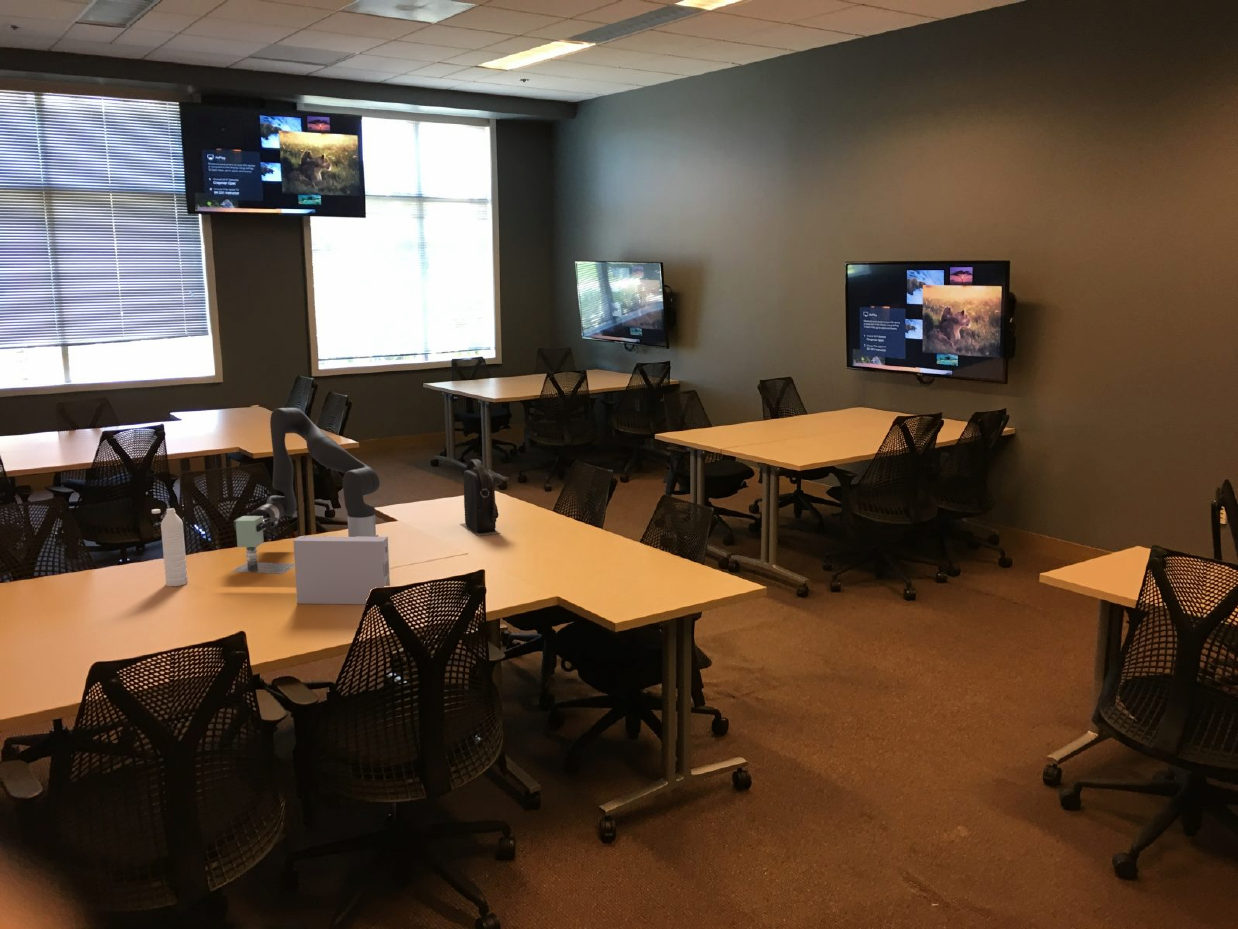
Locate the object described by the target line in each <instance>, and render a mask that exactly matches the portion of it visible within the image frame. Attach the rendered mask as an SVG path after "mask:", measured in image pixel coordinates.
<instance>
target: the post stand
mask: <svg viewBox="0 0 1238 929" xmlns="http://www.w3.org/2000/svg"><path fill="white" fill-rule="evenodd" d="M245 549H246V550H245V552H246V553H245V554H246V555H245V557H246V563H244V564H242V565H240V566H238V567H237V568H235V569H232V570H231V572H239V573H240V572H241V573H243V572H244V573H258V574H276V575H282V574H283V573H285V572H288V571H289V570H291V569H292V568H295V563H294V564H293V563H277V562H276V563H275V562H274V563H273V562H261V561H260V562H258V560H259V559H258V550H257V547H245Z"/></svg>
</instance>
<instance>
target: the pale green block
mask: <svg viewBox="0 0 1238 929" xmlns="http://www.w3.org/2000/svg"><path fill="white" fill-rule="evenodd" d="M238 518H239V517H238ZM236 519H237V518H236ZM236 519H235V520H236ZM261 522H262V516H250V515H243V516H240V518H239V519H237V520H236V530H235V532H236V545H237V546H236V547H238V548H246V547H256V548H257V547H259V546H260V545H262V544H263V543H264V542H265V540H264V530H261V531H259V532H257V529H256V526H257V525H258V524H259V523H261Z"/></svg>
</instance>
